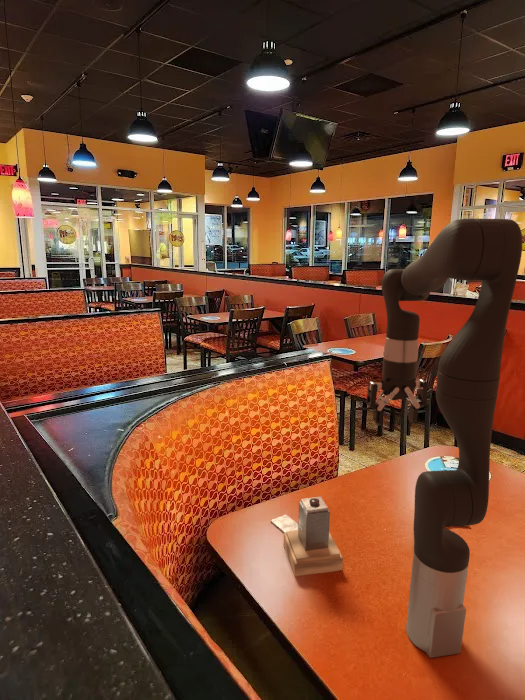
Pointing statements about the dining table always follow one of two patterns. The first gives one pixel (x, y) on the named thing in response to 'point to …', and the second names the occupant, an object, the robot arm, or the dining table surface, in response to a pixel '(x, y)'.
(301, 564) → the stand
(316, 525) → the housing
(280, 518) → the cover plate
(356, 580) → the dining table surface
